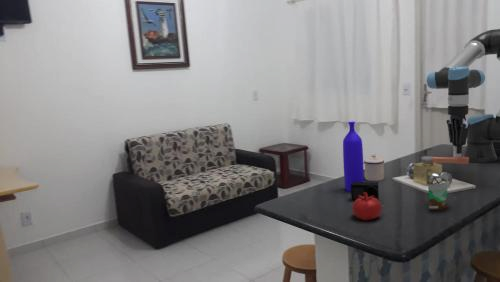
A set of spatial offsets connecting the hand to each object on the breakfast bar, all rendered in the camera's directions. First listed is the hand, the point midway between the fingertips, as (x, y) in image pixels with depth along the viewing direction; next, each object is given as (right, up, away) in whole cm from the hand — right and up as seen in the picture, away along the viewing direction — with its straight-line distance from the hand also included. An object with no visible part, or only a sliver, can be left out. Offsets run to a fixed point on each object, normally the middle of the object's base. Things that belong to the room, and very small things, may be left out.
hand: (457, 160), depth 166 cm
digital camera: (-41, -16, -8) cm, 45 cm away
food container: (-18, -16, -22) cm, 33 cm away
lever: (-5, -1, 0) cm, 5 cm away
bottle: (-42, -13, +6) cm, 44 cm away
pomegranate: (-46, -19, -26) cm, 56 cm away
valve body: (-10, -10, +5) cm, 15 cm away
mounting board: (-8, -10, +5) cm, 14 cm away
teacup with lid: (-30, -10, +21) cm, 38 cm away
